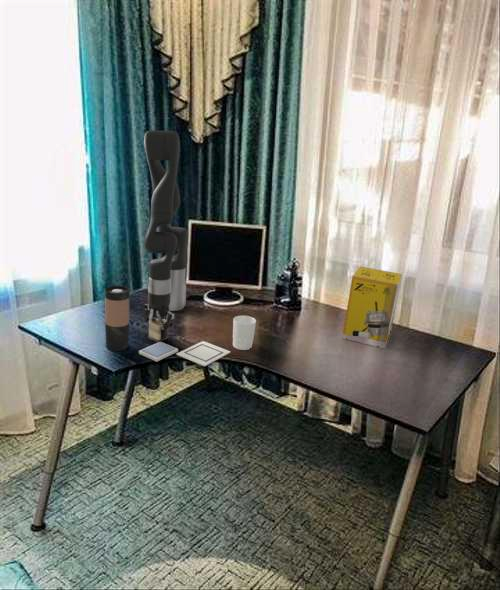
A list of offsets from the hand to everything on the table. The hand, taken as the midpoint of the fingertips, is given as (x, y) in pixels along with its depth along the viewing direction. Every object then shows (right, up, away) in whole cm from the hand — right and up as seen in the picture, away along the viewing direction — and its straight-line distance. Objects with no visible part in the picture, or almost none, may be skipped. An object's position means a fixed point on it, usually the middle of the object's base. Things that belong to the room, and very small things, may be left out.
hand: (157, 336), depth 171 cm
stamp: (0, -1, 0) cm, 1 cm away
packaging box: (+78, -2, +19) cm, 80 cm away
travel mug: (-12, -3, -8) cm, 15 cm away
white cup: (+29, -4, +1) cm, 30 cm away
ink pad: (+2, -5, -10) cm, 11 cm away
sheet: (+17, -5, -8) cm, 19 cm away
